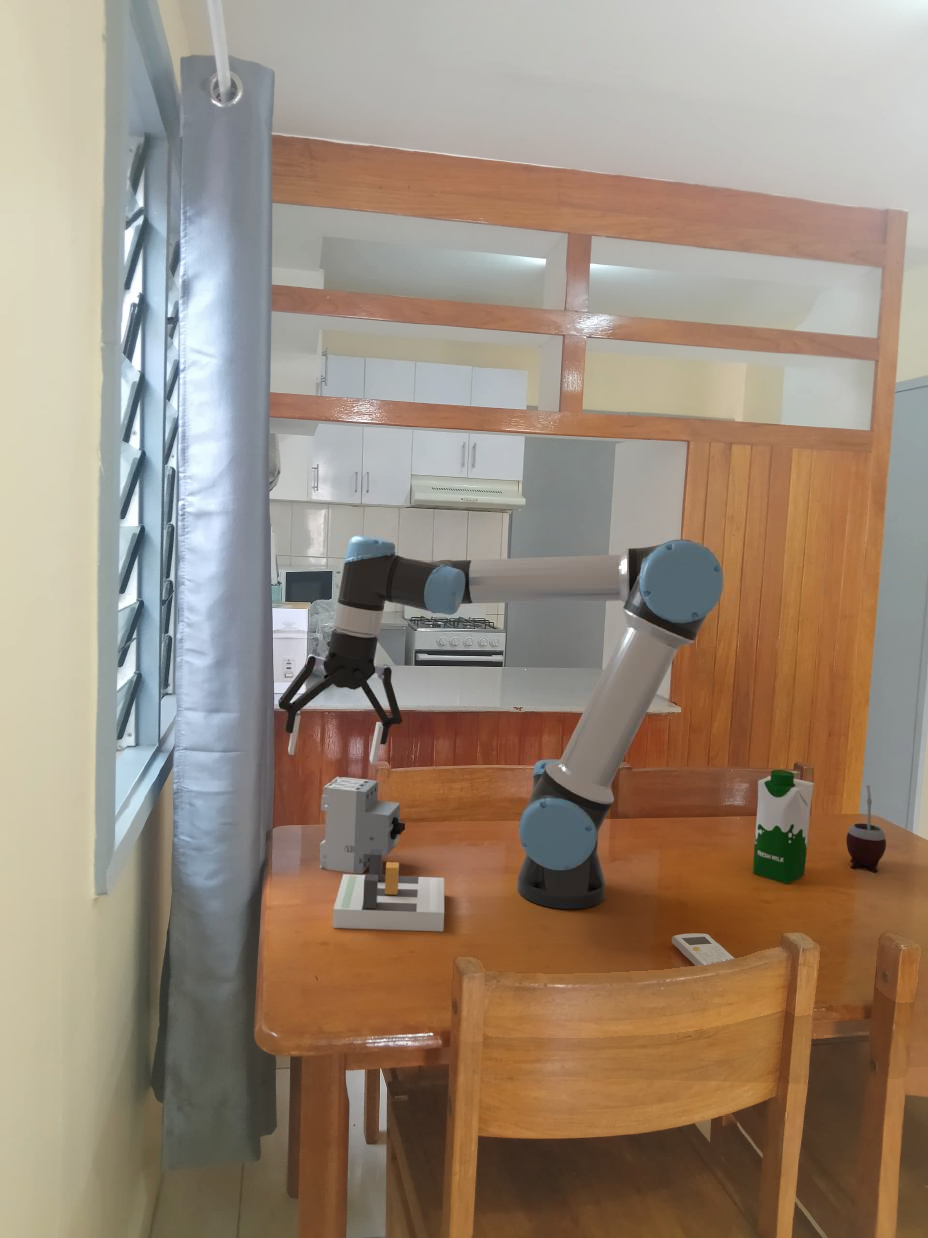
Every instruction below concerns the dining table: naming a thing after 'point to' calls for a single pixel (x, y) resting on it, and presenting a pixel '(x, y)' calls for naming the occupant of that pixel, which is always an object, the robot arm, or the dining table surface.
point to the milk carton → (782, 826)
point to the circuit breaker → (356, 824)
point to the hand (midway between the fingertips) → (332, 757)
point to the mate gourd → (866, 843)
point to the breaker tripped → (392, 878)
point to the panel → (391, 905)
